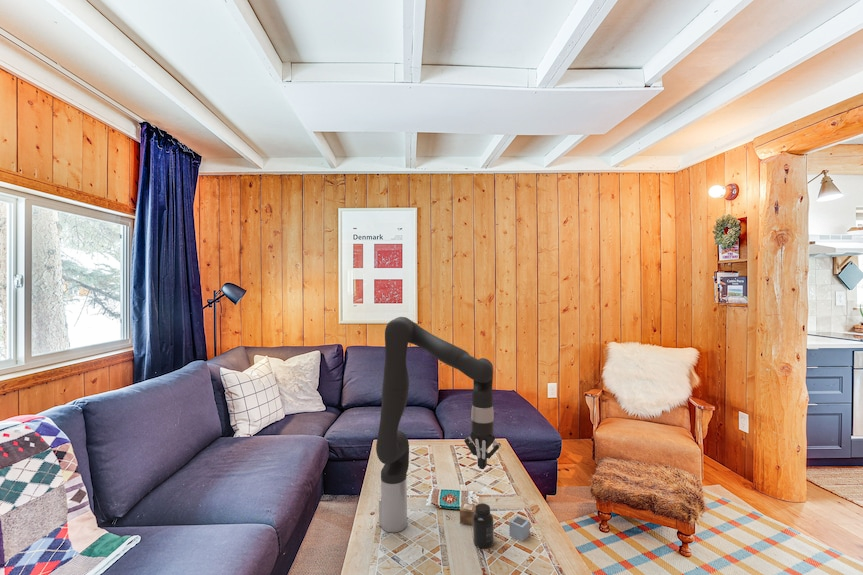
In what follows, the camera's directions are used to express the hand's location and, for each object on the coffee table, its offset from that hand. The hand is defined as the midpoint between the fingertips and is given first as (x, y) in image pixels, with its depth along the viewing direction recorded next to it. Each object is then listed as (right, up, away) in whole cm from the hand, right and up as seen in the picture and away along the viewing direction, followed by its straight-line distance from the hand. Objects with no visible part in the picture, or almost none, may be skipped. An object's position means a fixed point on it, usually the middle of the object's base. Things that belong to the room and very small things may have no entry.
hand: (482, 468), depth 136 cm
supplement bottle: (0, -24, -3) cm, 24 cm away
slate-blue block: (+13, -24, +1) cm, 27 cm away
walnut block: (-4, -24, +9) cm, 26 cm away
